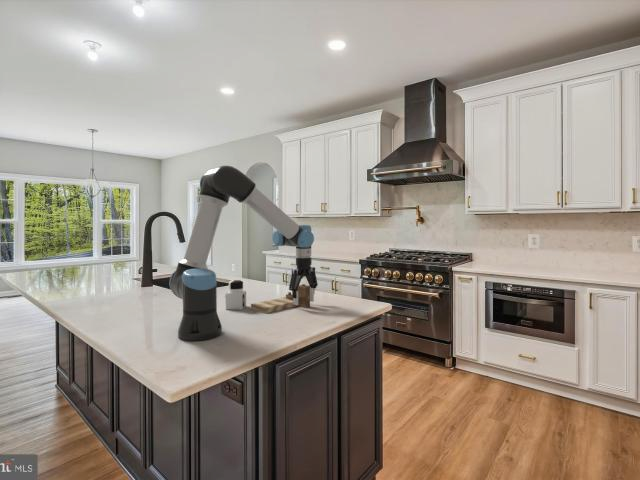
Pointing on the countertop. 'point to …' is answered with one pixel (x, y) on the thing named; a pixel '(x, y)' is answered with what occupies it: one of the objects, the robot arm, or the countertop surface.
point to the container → (236, 296)
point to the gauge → (302, 296)
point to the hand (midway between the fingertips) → (303, 302)
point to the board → (273, 305)
